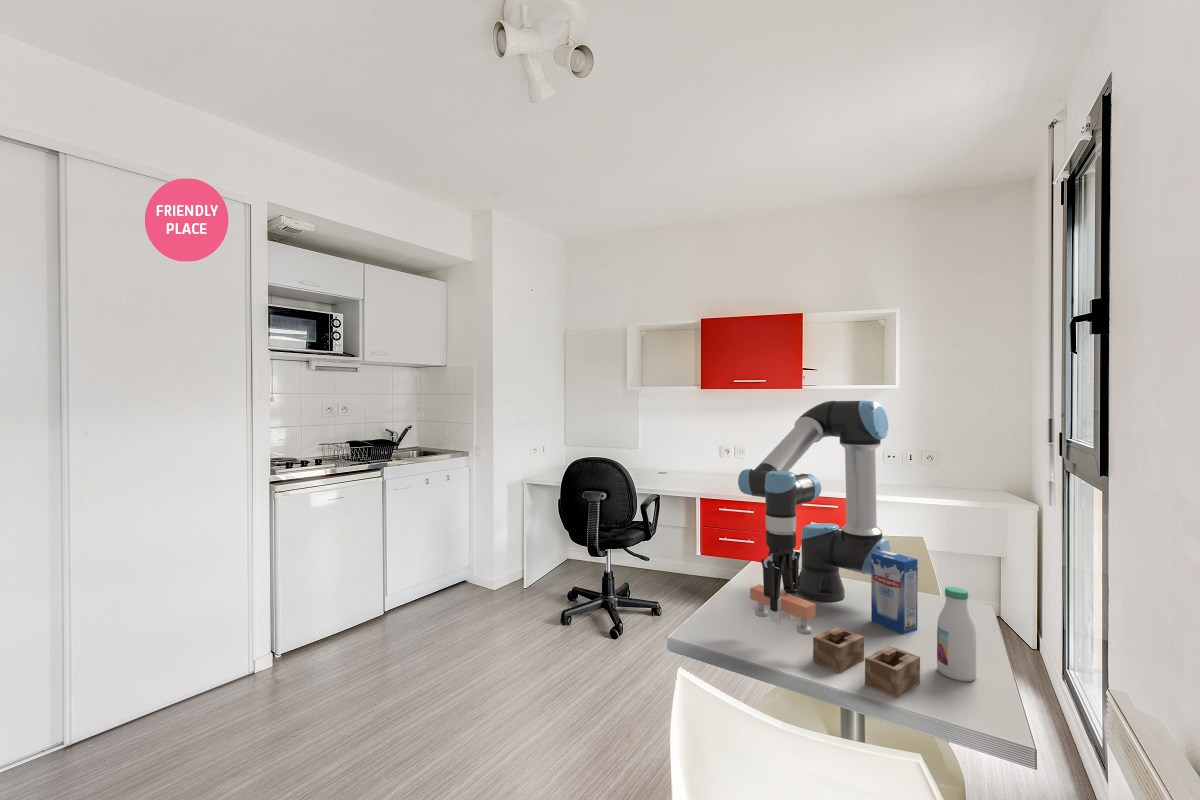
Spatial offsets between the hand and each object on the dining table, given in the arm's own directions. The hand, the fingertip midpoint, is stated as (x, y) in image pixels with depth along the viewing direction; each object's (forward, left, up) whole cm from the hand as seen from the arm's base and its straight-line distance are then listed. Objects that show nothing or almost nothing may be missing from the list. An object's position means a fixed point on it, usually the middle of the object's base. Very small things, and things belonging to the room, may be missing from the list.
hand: (781, 620), depth 139 cm
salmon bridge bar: (0, 0, -1) cm, 1 cm away
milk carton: (-38, +10, -7) cm, 40 cm away
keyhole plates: (-5, +19, -7) cm, 21 cm away
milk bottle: (-22, +32, -7) cm, 40 cm away
